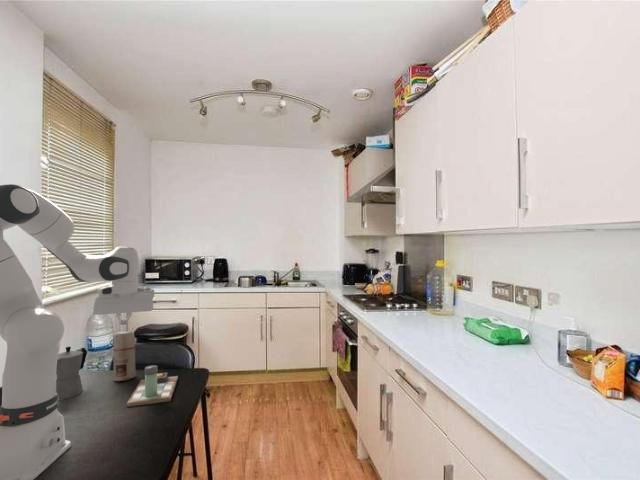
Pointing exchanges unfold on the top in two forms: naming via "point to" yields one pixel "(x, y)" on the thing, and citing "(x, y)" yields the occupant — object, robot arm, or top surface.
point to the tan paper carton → (124, 356)
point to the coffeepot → (69, 372)
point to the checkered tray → (163, 391)
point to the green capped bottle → (151, 381)
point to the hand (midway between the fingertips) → (123, 324)
